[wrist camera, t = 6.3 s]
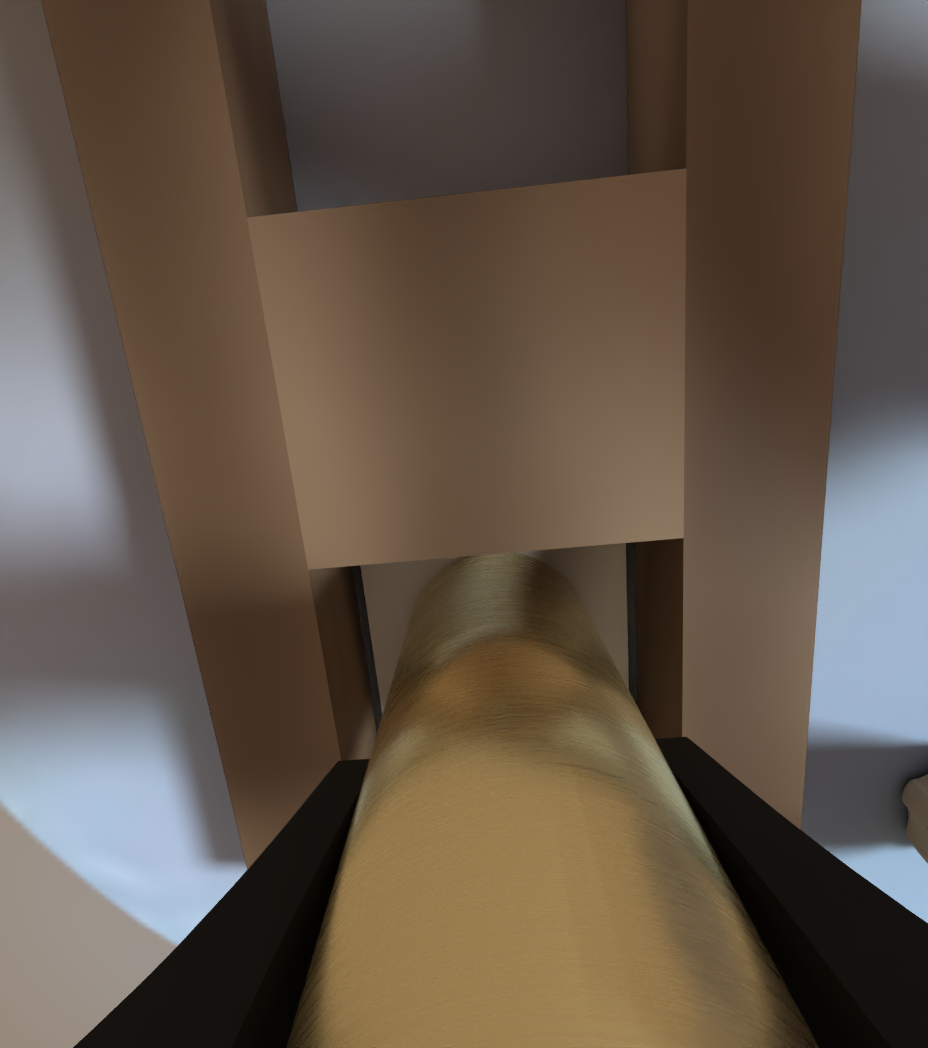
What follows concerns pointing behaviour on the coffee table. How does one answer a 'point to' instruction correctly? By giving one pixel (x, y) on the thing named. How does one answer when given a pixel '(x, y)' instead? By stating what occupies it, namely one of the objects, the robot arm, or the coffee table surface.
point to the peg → (529, 853)
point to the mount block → (481, 375)
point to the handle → (917, 813)
